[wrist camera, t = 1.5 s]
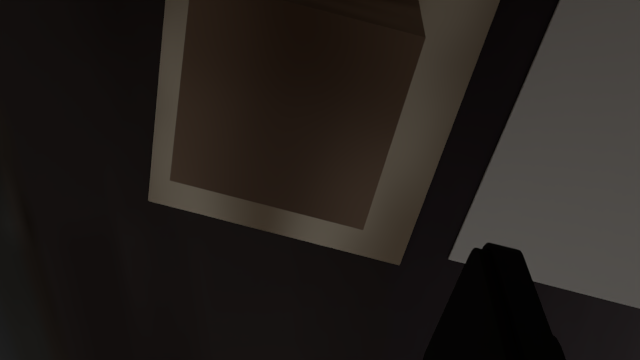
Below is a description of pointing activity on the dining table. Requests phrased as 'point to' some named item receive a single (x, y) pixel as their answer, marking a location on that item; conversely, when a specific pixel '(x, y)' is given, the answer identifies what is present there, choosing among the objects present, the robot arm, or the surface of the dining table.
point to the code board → (403, 157)
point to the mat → (571, 158)
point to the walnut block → (294, 100)
